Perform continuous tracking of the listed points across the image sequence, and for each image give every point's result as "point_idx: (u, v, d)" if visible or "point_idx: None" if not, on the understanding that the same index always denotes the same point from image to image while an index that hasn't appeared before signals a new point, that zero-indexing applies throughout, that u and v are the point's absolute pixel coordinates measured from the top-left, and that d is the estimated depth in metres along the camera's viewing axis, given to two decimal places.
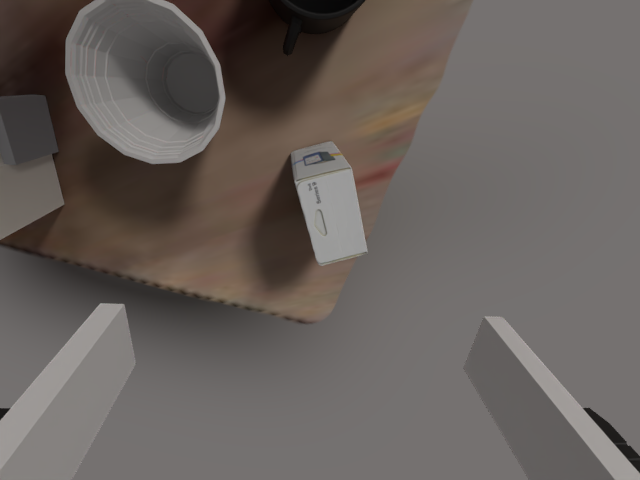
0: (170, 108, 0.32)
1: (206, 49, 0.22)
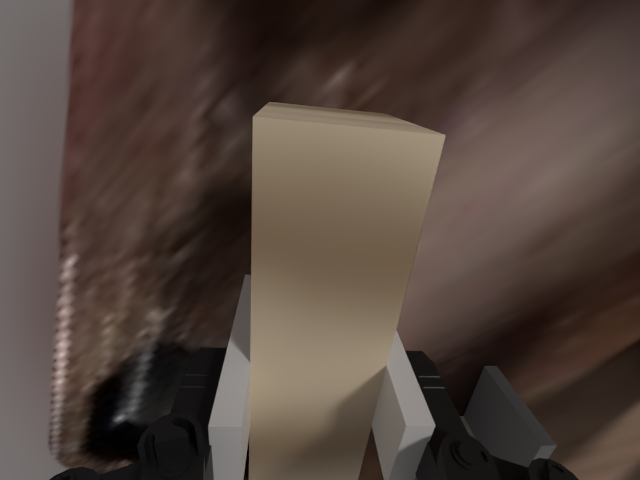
0: None
1: None
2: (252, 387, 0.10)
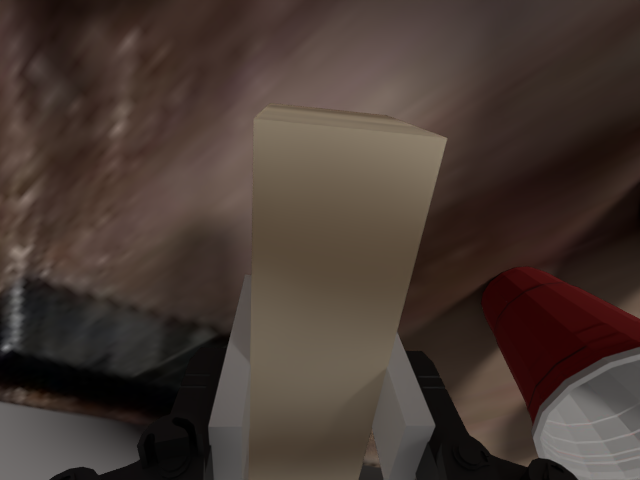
0: None
1: None
2: (252, 389, 0.10)
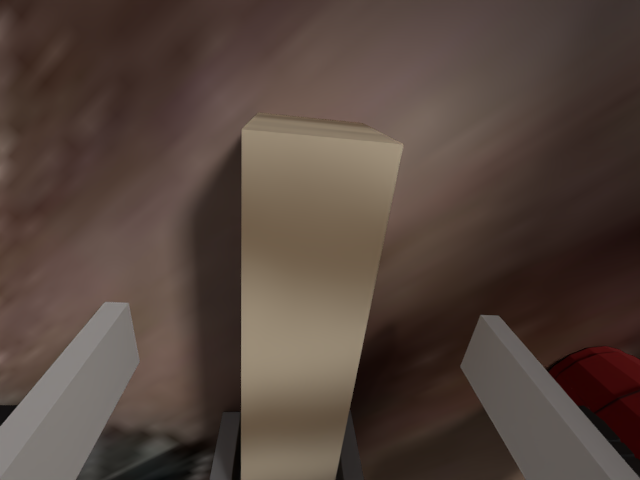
0: None
1: None
2: (243, 365, 0.11)
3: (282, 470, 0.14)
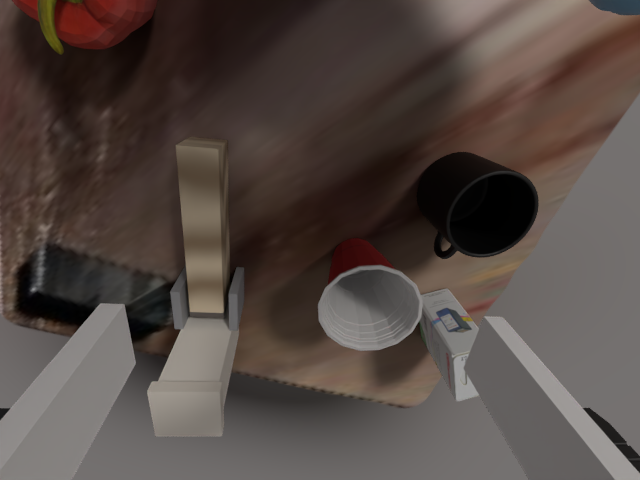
0: None
1: (416, 293, 0.33)
2: (182, 217, 0.35)
3: (201, 266, 0.37)
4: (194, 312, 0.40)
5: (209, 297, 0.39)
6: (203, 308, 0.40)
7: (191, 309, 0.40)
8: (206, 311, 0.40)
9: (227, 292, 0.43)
